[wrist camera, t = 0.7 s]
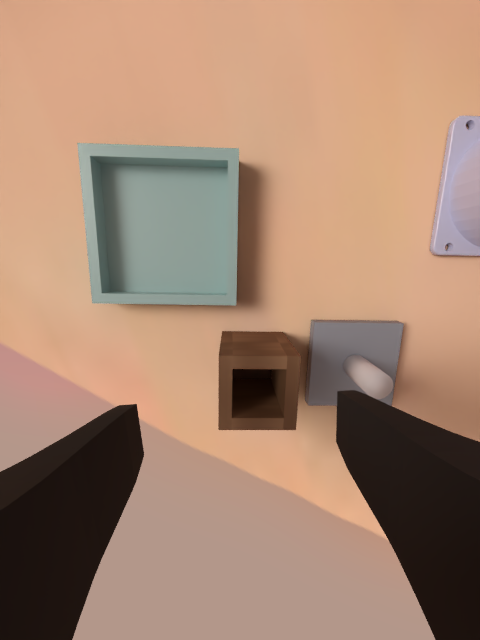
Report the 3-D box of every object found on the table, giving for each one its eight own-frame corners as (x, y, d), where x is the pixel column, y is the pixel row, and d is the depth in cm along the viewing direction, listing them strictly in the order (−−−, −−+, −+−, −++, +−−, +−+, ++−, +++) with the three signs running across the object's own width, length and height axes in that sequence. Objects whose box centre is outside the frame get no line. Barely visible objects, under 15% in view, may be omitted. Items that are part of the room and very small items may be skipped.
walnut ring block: (282, 332, 19) (300, 356, 14) (279, 388, 20) (295, 430, 15) (222, 331, 19) (218, 355, 14) (221, 387, 19) (218, 429, 15)
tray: (238, 160, 16) (239, 148, 15) (235, 301, 18) (236, 305, 16) (94, 156, 16) (77, 143, 14) (105, 299, 18) (92, 303, 16)
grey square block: (396, 321, 19) (439, 336, 15) (385, 400, 20) (422, 433, 16) (311, 319, 19) (332, 334, 15) (305, 399, 20) (322, 433, 16)
